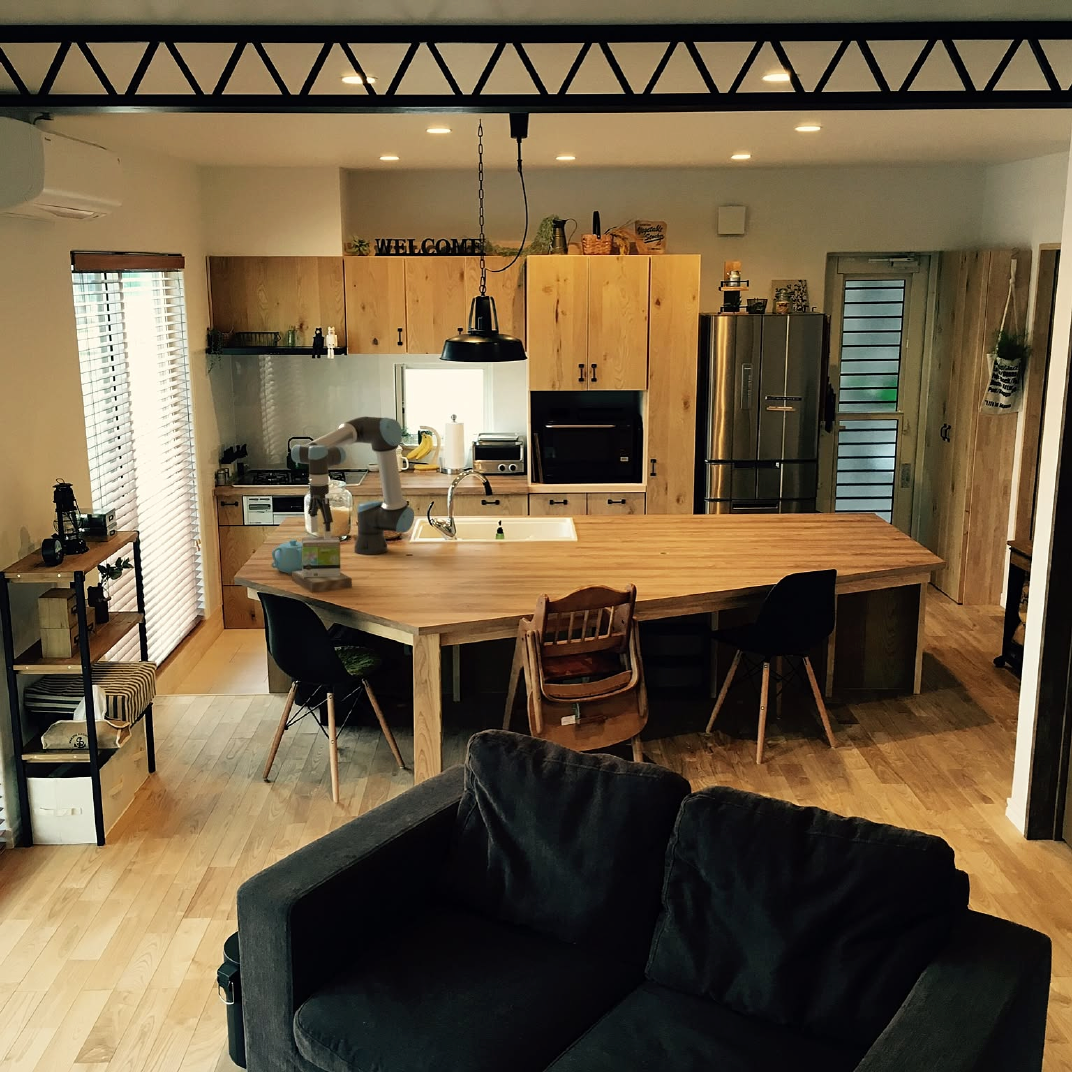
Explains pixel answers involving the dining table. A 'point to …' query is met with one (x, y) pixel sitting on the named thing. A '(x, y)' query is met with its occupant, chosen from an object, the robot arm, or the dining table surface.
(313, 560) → the tea box
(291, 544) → the decorative pot
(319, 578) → the tray
